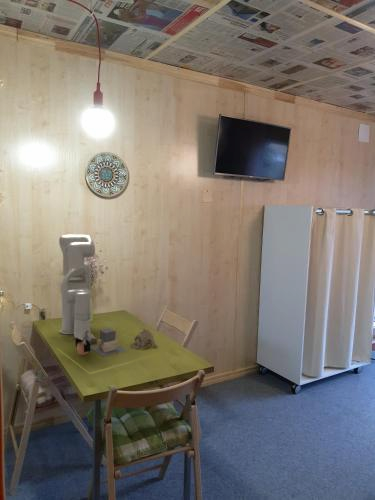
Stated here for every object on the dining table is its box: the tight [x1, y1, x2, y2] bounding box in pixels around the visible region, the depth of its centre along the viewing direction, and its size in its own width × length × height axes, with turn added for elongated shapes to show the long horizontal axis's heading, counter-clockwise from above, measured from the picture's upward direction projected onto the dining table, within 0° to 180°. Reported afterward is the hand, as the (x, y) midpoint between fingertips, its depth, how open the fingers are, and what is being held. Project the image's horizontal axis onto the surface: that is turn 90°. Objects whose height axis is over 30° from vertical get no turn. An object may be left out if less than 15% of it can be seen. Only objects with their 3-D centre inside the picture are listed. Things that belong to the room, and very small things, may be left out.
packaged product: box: [73, 332, 98, 345], centre depth 212 cm, size 18×5×10 cm
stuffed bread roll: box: [130, 328, 157, 350], centre depth 206 cm, size 14×11×10 cm
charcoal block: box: [99, 327, 117, 342], centre depth 198 cm, size 6×6×5 cm
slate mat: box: [90, 344, 127, 357], centre depth 199 cm, size 16×14×1 cm
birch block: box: [97, 338, 118, 352], centre depth 199 cm, size 7×7×5 cm
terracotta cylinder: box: [76, 342, 89, 356], centre depth 192 cm, size 6×6×6 cm
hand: (82, 348), depth 192 cm, fingers open, 9 cm apart
